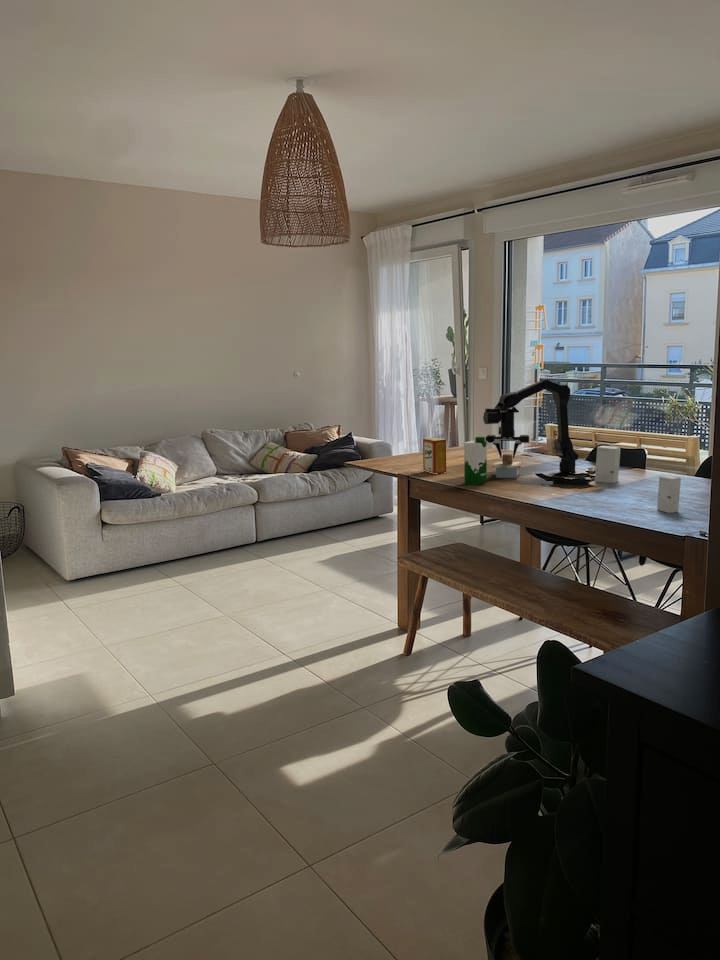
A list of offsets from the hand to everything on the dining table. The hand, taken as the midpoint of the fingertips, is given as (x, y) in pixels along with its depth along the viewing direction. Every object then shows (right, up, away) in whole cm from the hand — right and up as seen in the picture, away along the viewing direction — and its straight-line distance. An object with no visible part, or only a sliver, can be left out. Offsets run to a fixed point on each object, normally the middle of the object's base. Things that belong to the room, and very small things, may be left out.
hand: (507, 458), depth 333 cm
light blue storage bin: (0, -8, +2) cm, 8 cm away
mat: (+10, -11, -12) cm, 19 cm away
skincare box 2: (+42, -21, -71) cm, 85 cm away
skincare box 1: (+39, -11, -16) cm, 43 cm away
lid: (0, -3, +1) cm, 3 cm away
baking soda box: (-30, -6, +18) cm, 36 cm away
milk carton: (-16, -11, -11) cm, 23 cm away
